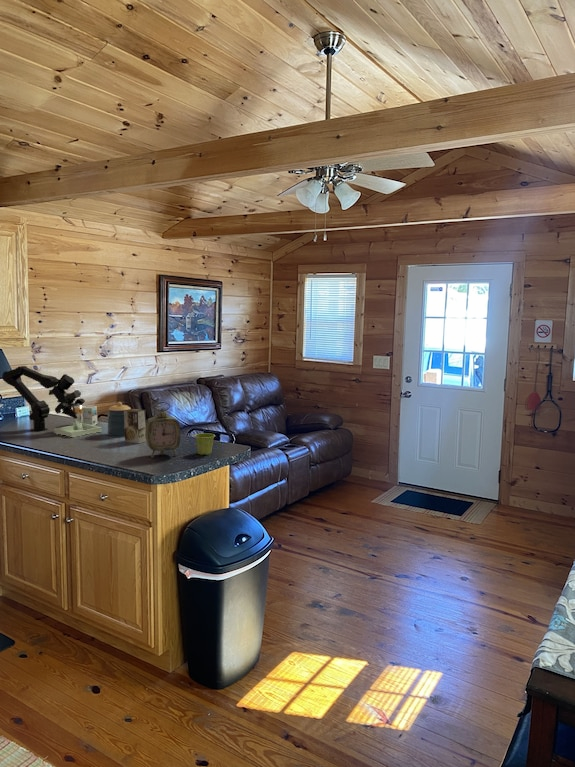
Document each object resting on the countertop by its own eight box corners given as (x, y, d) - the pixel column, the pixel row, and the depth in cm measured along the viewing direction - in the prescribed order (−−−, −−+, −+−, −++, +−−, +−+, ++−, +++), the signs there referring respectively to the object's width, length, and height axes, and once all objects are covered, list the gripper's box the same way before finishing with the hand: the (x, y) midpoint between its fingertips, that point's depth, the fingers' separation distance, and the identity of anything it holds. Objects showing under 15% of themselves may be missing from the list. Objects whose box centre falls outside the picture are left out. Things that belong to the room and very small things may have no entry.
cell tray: (54, 433, 307) (54, 428, 307) (84, 428, 322) (84, 423, 321) (71, 437, 298) (71, 432, 297) (101, 432, 312) (101, 427, 312)
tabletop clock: (148, 459, 258) (147, 404, 255) (145, 454, 266) (144, 401, 263) (180, 456, 264) (180, 402, 261) (176, 451, 272) (175, 399, 269)
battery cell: (71, 430, 307) (71, 404, 305) (74, 428, 312) (74, 403, 310) (81, 430, 307) (80, 404, 305) (84, 428, 312) (83, 403, 310)
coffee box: (147, 441, 293) (146, 409, 291) (138, 443, 287) (138, 411, 285) (132, 439, 297) (132, 408, 295) (124, 441, 291) (123, 410, 289)
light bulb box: (97, 424, 333) (97, 405, 332) (92, 426, 327) (92, 407, 325) (80, 423, 334) (79, 405, 333) (74, 426, 328) (74, 407, 326)
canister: (102, 435, 304) (101, 402, 301) (118, 431, 316) (117, 399, 313) (122, 438, 299) (121, 404, 297) (137, 433, 311) (137, 401, 309)
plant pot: (205, 450, 276) (205, 432, 275) (219, 453, 270) (219, 435, 269) (190, 453, 269) (190, 435, 268) (204, 457, 263) (204, 438, 262)
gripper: (58, 388, 299) (77, 410, 297) (81, 383, 316) (99, 404, 315) (46, 402, 302) (65, 424, 300) (69, 397, 320) (87, 418, 318)
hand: (79, 417), depth 308 cm, fingers closed on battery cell, 5 cm apart
